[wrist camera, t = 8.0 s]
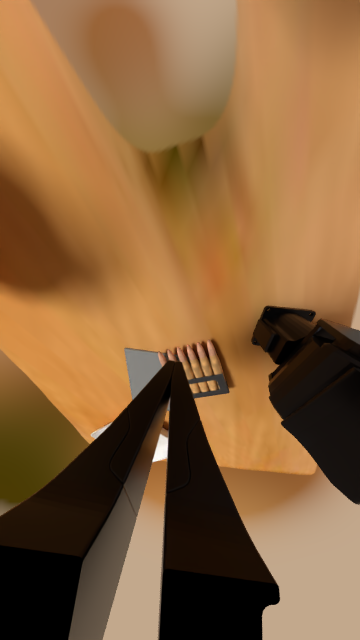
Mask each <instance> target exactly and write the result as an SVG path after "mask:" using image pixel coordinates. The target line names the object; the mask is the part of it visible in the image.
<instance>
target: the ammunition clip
mask: <svg viewBox="0 0 360 640" xmlns="http://www.w3.org/2000/svg"><path fill="white" fill-rule="evenodd" d="M207 347H208V352H209V356H210V362H209V360H208V358H207V356H206V354H205V351H204V349H203V347H202V345H201V344H200V343H199V342H198V343H197V351H198V354H199V358H200V363H199V361H198V360H197V357H196V355H195V353H194V351H193V349H192V348H191V347H190V346H189V345H187V352H188V356H189V359H190V362H191V365H190V363H189V362H188V360H187V358H186V356H185V354H184V353H183V351H182V350H181V349H180V348H179V347H177V353H178V357H179V360H180V362H182V363H183V366H184V369H185V373H186V376H187V379H188V382H189V385H190V388H191V391H192V394H193V397H194V398H200V397H206V396H213V395H220V394H227V393H229V388H228V385H227V382H226V379H225V377H224V373H223V370H222V366H221V363H220V360H219V358H218V356H217V353H216V351H215V348H214V346H213V344H212V342H211V341H210V340H208V342H207ZM158 357H159V360H160V363H161V365H162V367H163V365H164V364H165V363H166V362H167V360H166V358H165V357H164V355H163V354H162V353H161V352H158ZM168 357H169V360H173V361H177V359H176V357H175V356H174V354H173V353H172V352H171V351H170V350H169V349H168ZM210 363H211V365H210ZM200 364H201V365H200ZM211 366H212V368H211ZM191 367H192V368H191ZM201 367H202V368H201ZM202 369H203V370H202ZM213 373H214V374H213ZM204 375H205V376H204Z"/></svg>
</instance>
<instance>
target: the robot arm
mask: <svg viewBox="0 0 360 640" xmlns="http://www.w3.org/2000/svg"><path fill="white" fill-rule="evenodd" d="M267 309H269V310H268V311H267ZM310 313H311V314H310ZM309 314H310V315H309ZM315 315H316V313H315V312H314V311H312V310H305V309H295V308H285V307H276V306H266V307H265V308H264V310H263V312H262V315H261V317H260V319H259V320H258V322H257V325H256V328H255V330H254V333H253V338H252V340H251V342H252V344H253V345H259V346H261V347H262V348H263V350H264V351H265V352H268V354H269V355H270V357H271V358H272V360H273V361H274V362H275V364H278V365H279V366H278V367H277V369H276V370H275V371H274V372H273V373H271V374H270V375H269V385H268V387H269V392H270V396H269V399H270V401H271V403H272V405H273V407H274V408H275V410H276V411H277V413H278V414H279V415H280V417H281V418H282V419H283V421H282V422H281V425H282V426H283V427H284V428H285V429H286V430H287V431H289V432H290V433H291V434H292V435H293V436H294V437H295V438H296V439H297V440H298V441H299V442H300V443H301V444H302V445H303V447H304V448H305V449H306V450H307V451H308V453H309V454H310V455H311V456H312V458H313V459H314V460H315V462H316V463H317V464H318V466H319V467H320V468H321V470H322V471H323V473H324V474H325V475H326V477H327V478H328V479H329V481H330V482H331V483H332V484H333V485H334V486H335V487H336V488H337V489H338V490H340V491H341V492H342V493H343V494H344V495H345V496H346V497H347V498H348V499H350V500H351V501H352V502H353V503H355V504H358V505H359V504H360V331H359V330H356V329H352V328H350V327H346V326H343V325H340V324H337V323H334V322H331V321H328V320H325V319H322V318H321V319H320V320H319V321H318V322H317V325H314V324H313V323H311V321H312V320H313V318H314V316H315ZM255 341H256V342H255ZM169 401H170V409H169V429H168V449H167V469H166V489H165V508H164V528H163V548H162V569H161V588H160V589H161V590H160V609H159V627H158V628H159V629H158V640H262V613H263V610H264V609H265V607H267V606H269V605H276V604H277V603H279V601H280V597H279V596H280V595H279V586H278V585H277V583H276V581H275V580H274V578H273V576H272V575H271V573H270V571H269V570H268V568H267V566H266V564H265V563H264V561H263V559H262V558H261V556H260V554H259V553H258V551H257V549H256V547H255V546H254V544H253V542H252V540H251V538H250V536H249V534H248V532H247V530H246V528H245V526H244V524H243V522H242V520H241V517H240V516H239V513H238V511H237V509H236V506H235V504H234V502H233V499H232V497H231V495H230V493H229V490H228V488H227V486H226V483H225V481H224V479H223V476H222V474H221V472H220V469H219V467H218V465H217V462H216V460H215V458H214V455H213V453H212V450H211V448H210V445H209V443H208V440H207V437H206V434H205V431H204V428H203V425H202V422H201V420H200V416H199V413H198V410H197V407H196V404H195V401H194V397H193V394H192V391H191V388H190V385H189V382H188V379H187V376H186V373H185V369H184V366H183V363H182V362H180V361H173V360H168V361H167V362H166V363H165V364H164V365H163V367H162V368H161V369H160V370H159V371H158V372H157V373H156V374H155V376H154V377H153V378H152V379H151V380H150V381H149V382H148V383H147V385H146V386H145V387H144V388H143V389H142V390H141V391H140V392H139V394H138V395H137V396H136V397H135V398H134V399H133V400H132V401H131V403H130V404H129V405H128V406H127V408H125V409H124V410H123V411H122V413H121V414H120V415H119V416H118V417H117V418H116V419H115V420H114V421H113V422H112V423H111V424H110V425H109V426H108V427H107V428H106V429H105V430H104V431H103V432H102V433H101V434H100V435H99V436H98V437H97V438H96V439H95V440H94V441H93V442H92V443H91V444H90V445H89V446H88V447H87V448H86V449H85V450H84V451H83V452H81V453H80V454H79V455H78V456H77V457H76V458H75V459H74V460H73V461H72V462H71V463H70V464H69V465H68V466H67V467H66V468H65V469H63V470H62V471H61V472H60V473H59V474H58V475H57V476H56V477H55V478H54V479H52V480H51V481H50V482H49V483H48V484H46V485H45V486H44V487H43V488H41V489H40V490H39V491H37V492H36V493H35V494H33V495H32V496H30V497H29V498H27V499H26V500H24V501H23V502H21V503H20V504H18V505H17V506H15V507H13V508H12V509H10V510H9V511H7V512H6V513H4V514H3V515H1V516H0V640H102V639H103V635H104V632H105V629H106V625H107V622H108V618H109V615H110V611H111V607H112V603H113V600H114V597H115V593H116V590H117V586H118V583H119V579H120V575H121V572H122V568H123V565H124V561H125V557H126V554H127V550H128V547H129V543H130V540H131V536H132V532H133V529H134V526H135V522H136V517H137V515H138V511H139V508H140V504H141V500H142V497H143V493H144V490H145V486H146V483H147V479H148V476H149V472H150V469H151V465H152V462H153V458H154V454H155V451H156V447H157V444H158V440H159V437H160V433H161V430H162V426H163V422H164V419H165V415H166V412H167V408H168V405H169Z"/></svg>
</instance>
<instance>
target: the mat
mask: <svg viewBox="0 0 360 640" xmlns="http://www.w3.org/2000/svg"><path fill="white" fill-rule="evenodd" d="M124 350H125V356H126V362H127V369H128V375H129V381H130V388H131V394H132V400H133V399H134V398H135V397H136V396H137V395H138V394H139V392H140V391H141V390H142V389H143V388H144V387H145V386H146V385H147V383H148V382H149V381H150V380H151V379H152V378H153V377H154V376H155V374H156V373H157V372H158V371H159V370H160V369H161V368H162V365H161V363H160V360H159V357H158V352H152V351H145V350H137V349H130V348H125V349H124ZM162 354H163V355H164V357H165V358H166V360H167V361H168V360H169V357H168V354H167V353H162ZM174 356H175V357H176V359H177V361H180V360H179V357H178V355H174ZM186 358H187V360H188V362H189V363H190V365H191V362H190V359H189V356H186ZM191 368H192V367H191ZM169 409H170V401H169V405H168V408H167V411H169Z"/></svg>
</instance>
